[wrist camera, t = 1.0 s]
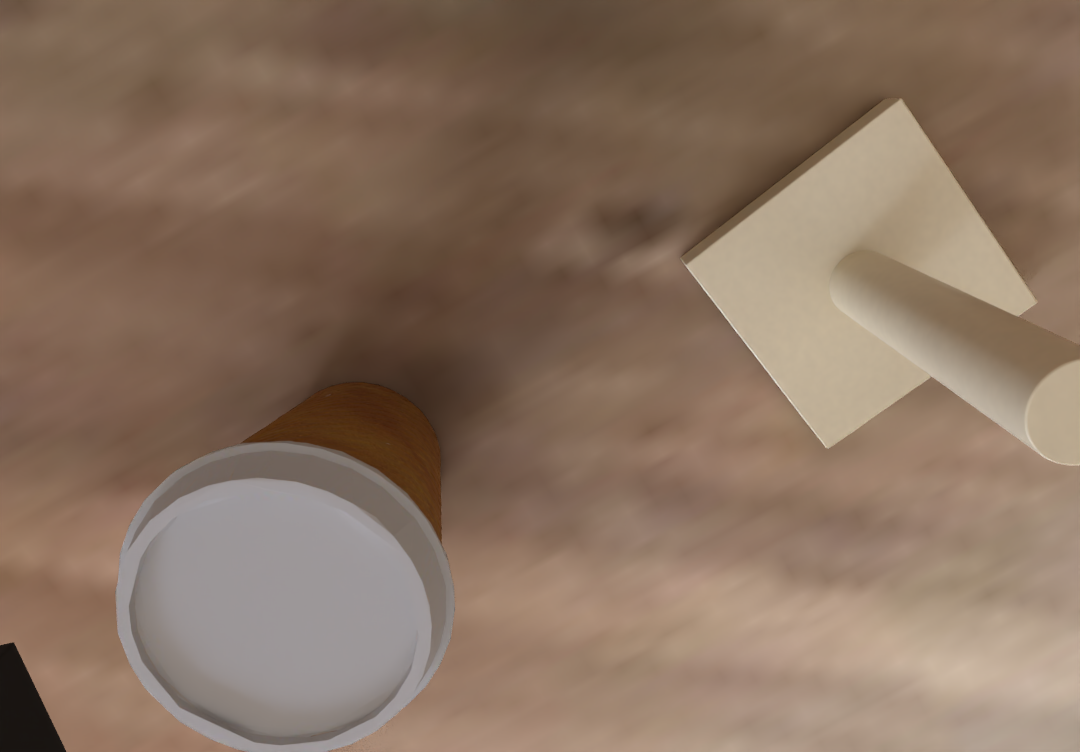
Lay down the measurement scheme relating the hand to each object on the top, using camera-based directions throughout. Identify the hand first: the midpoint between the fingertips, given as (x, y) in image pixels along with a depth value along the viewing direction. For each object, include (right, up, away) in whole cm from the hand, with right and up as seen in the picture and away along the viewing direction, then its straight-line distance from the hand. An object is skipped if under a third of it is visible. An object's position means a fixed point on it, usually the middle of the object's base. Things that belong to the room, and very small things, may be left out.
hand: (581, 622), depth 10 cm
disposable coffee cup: (-8, 0, +26) cm, 27 cm away
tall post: (+11, +7, +23) cm, 27 cm away
